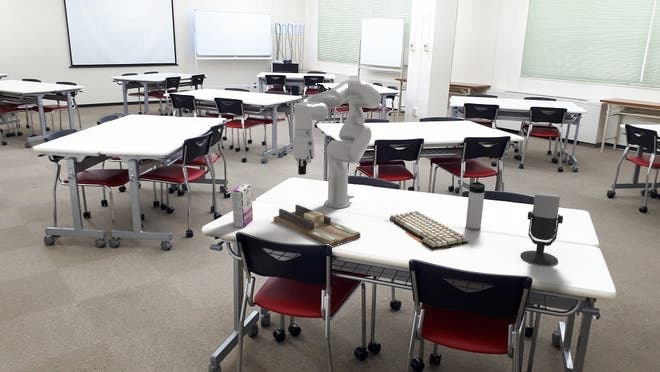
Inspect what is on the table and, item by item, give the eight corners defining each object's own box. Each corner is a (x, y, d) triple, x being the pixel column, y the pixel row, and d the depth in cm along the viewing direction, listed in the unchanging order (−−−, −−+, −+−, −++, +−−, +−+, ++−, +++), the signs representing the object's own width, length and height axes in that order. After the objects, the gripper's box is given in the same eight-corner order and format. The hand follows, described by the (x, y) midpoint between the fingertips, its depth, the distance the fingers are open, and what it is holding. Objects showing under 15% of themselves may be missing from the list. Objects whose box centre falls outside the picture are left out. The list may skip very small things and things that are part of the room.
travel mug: (480, 226, 216) (485, 182, 210) (480, 231, 210) (485, 186, 204) (466, 224, 218) (470, 180, 212) (465, 229, 212) (469, 184, 206)
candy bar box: (242, 218, 220) (241, 183, 216) (253, 219, 219) (252, 184, 215) (232, 227, 210) (231, 190, 205) (243, 228, 209) (242, 191, 204)
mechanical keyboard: (382, 221, 222) (383, 214, 221) (418, 216, 230) (418, 209, 229) (433, 252, 189) (434, 244, 188) (472, 245, 197) (473, 237, 196)
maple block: (314, 220, 213) (314, 210, 212) (323, 224, 209) (323, 214, 208) (303, 223, 210) (303, 213, 208) (312, 227, 205) (313, 217, 204)
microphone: (556, 255, 187) (566, 192, 180) (558, 268, 175) (569, 202, 169) (520, 249, 191) (528, 188, 185) (520, 262, 180) (528, 197, 173)
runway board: (302, 213, 228) (302, 203, 227) (360, 237, 201) (360, 226, 199) (273, 221, 218) (273, 210, 216) (330, 247, 190) (331, 235, 189)
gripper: (320, 134, 208) (319, 176, 213) (299, 129, 219) (298, 170, 224) (306, 135, 204) (305, 178, 208) (285, 131, 214) (285, 172, 219)
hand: (302, 174), depth 216 cm, fingers closed
